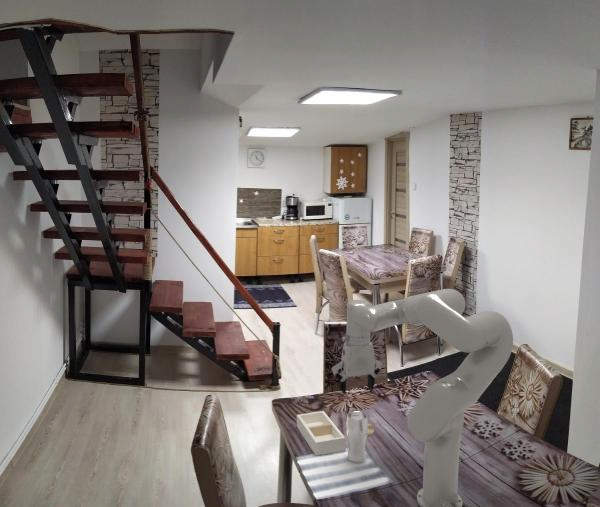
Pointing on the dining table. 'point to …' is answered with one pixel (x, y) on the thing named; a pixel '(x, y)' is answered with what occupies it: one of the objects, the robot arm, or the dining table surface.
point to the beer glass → (356, 435)
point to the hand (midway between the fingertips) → (356, 389)
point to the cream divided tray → (320, 433)
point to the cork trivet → (370, 430)
